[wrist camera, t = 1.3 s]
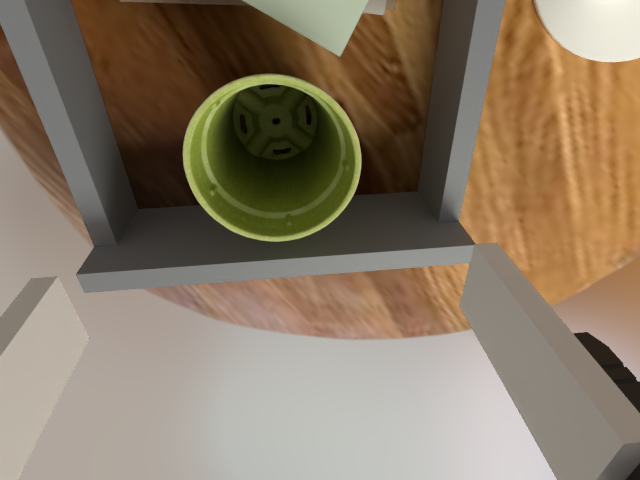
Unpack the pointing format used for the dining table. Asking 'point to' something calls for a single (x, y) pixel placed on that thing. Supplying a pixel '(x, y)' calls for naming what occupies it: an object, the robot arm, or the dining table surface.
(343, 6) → the offcut top
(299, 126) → the plant pot
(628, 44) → the mat
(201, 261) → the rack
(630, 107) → the dining table surface
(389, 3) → the offcut bottom
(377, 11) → the block
